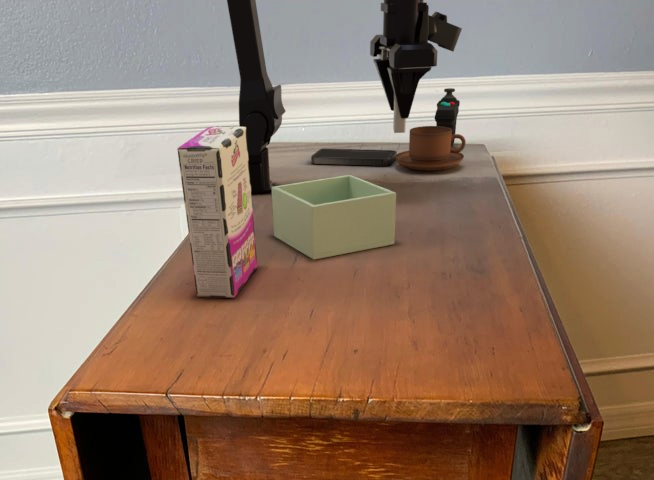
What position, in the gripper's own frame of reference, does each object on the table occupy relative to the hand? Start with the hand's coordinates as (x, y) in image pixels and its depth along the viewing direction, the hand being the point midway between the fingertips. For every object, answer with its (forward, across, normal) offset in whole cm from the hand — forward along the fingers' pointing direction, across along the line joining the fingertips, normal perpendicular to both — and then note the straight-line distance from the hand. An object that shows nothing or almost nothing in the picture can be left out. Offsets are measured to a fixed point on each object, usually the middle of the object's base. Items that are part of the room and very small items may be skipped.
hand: (399, 114), depth 123 cm
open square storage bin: (+11, -24, +14) cm, 31 cm away
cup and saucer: (+11, +14, -9) cm, 20 cm away
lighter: (+2, 0, 0) cm, 2 cm away
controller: (+11, +29, -16) cm, 35 cm away
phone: (+11, +23, +3) cm, 26 cm away
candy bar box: (+12, -38, +29) cm, 50 cm away
